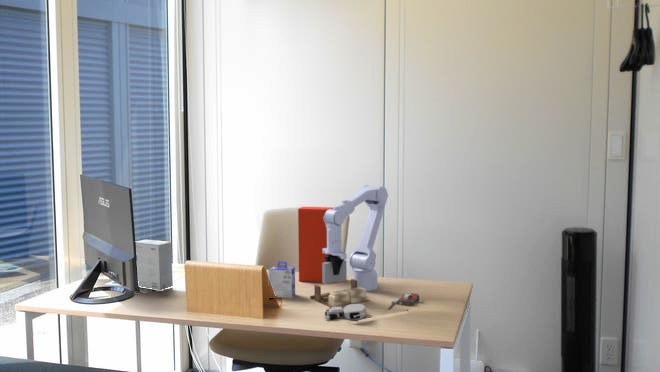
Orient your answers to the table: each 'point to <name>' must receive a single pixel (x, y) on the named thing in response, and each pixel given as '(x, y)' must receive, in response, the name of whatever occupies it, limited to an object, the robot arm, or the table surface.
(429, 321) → the table surface
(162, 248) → the hard drive box
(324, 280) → the grey rectangular slab
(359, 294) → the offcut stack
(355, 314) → the robot toy
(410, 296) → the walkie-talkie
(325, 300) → the walnut rack
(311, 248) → the file binder
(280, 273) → the ink cartridge box
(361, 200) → the robot arm
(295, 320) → the table surface
